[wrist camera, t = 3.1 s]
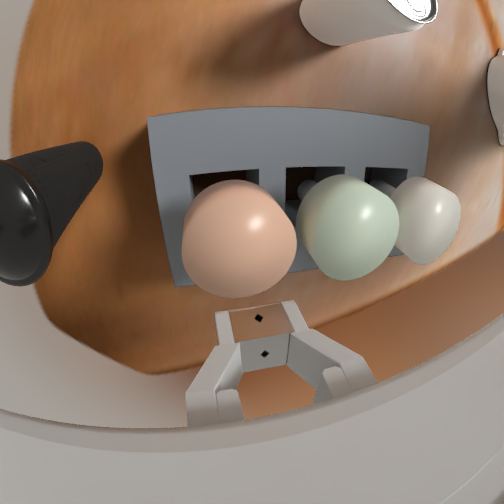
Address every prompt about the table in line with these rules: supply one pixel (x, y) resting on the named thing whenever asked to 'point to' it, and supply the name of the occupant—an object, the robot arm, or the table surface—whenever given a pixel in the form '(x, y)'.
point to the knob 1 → (236, 240)
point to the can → (363, 18)
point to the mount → (274, 157)
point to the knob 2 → (423, 217)
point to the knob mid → (346, 225)
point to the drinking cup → (41, 205)
